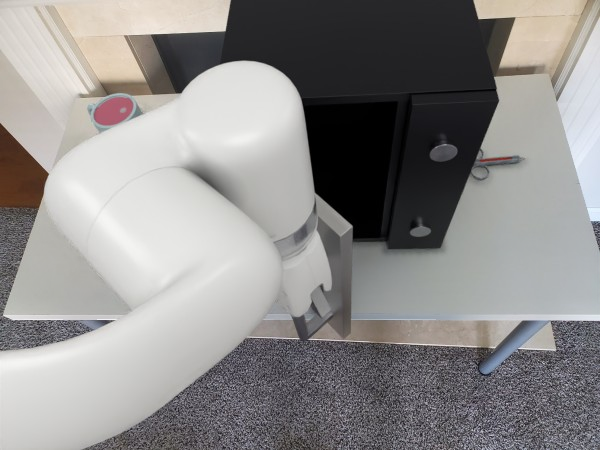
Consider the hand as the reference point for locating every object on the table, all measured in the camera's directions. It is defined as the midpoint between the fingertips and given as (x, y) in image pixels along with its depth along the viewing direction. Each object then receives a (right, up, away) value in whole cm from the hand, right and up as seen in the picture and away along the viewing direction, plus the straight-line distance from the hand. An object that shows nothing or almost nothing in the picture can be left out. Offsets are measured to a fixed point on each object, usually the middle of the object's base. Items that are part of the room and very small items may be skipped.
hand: (294, 294), depth 51 cm
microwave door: (-1, -5, +24) cm, 24 cm away
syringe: (+36, +19, +34) cm, 53 cm away
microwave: (+10, +16, +35) cm, 39 cm away
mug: (-37, +26, +46) cm, 65 cm away
